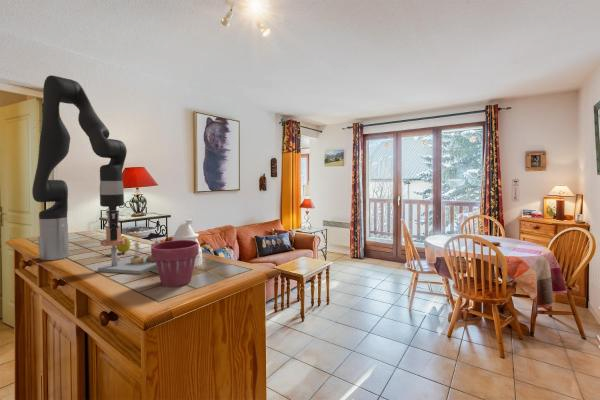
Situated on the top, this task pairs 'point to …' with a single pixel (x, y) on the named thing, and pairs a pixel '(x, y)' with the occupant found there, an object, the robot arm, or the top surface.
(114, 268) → the carrier
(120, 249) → the lemon
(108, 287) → the top surface
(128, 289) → the top surface
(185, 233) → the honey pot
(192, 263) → the plant pot
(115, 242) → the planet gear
